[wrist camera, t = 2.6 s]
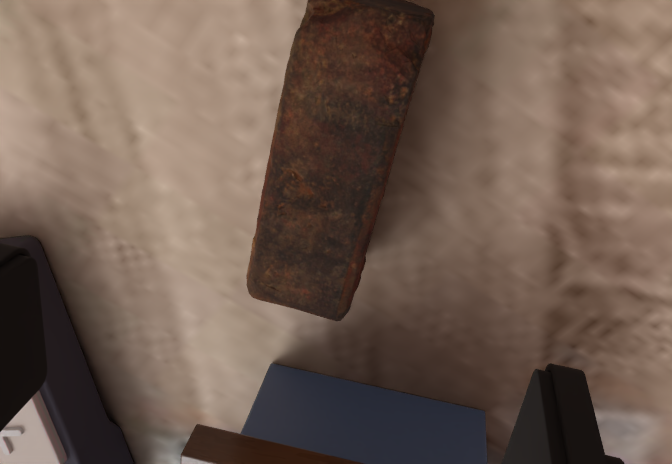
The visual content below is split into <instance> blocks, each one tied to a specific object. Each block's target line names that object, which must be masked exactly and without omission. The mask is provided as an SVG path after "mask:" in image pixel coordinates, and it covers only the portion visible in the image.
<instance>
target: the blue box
mask: <svg viewBox="0 0 672 464" xmlns="http://www.w3.org/2000/svg"><path fill="white" fill-rule="evenodd" d="M241 434H242V435H246V436H251V437H255V438H259V439H263V440H267V441H272V442H276V443H280V444H284V445H289V446H293V447H297V448H301V449H305V450H310V451H314V452H318V453H322V454H327V455H331V456H335V457H339V458H344V459H348V460H352V461H356V462H360V463H365V464H487V444H486V421H485V411H482V410H478V409H473V408H469V407H465V406H460V405H456V404H451V403H447V402H442V401H438V400H433V399H429V398H424V397H420V396H416V395H411V394H407V393H402V392H398V391H393V390H389V389H384V388H380V387H375V386H371V385H367V384H362V383H358V382H353V381H349V380H344V379H340V378H335V377H331V376H326V375H322V374H318V373H313V372H309V371H304V370H300V369H295V368H291V367H286V366H282V365H277V364H273V363H271V364H270V366H269V369H268V371H267V373H266V376H265V378H264V380H263V383H262V385H261V387H260V390H259V392H258V394H257V397H256V399H255V401H254V404H253V406H252V408H251V411H250V413H249V415H248V418H247V420H246V422H245V425H244V427H243V429H242V432H241Z"/></svg>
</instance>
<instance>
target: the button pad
mask: <svg viewBox="0 0 672 464" xmlns="http://www.w3.org/2000/svg"><path fill="white" fill-rule="evenodd" d="M0 243H4V244H8V245H13V246H17V247H22V248H25V249H27V250H28V251H29V253H30V255H31V257H32V258H34V259H35V260H36V262H37V266H38V275H39V286H40V296H41V306H42V316H43V327H44V337H45V347H46V357H47V376H46V379H45V382H44V384H43V385H42V387H41V388H40V389H39V390H38V392H37V393H36V394H35V395H34V396H33V397H32V398H31V399H30V400H29V401H28V402H27V403H26V405H25V406H24V407H23V408H22V409H21V410H20V411H19V412H18V413H17V414H16V415H15V417H14V418H13V419H12V420H11V421H10V422H9V423H8V424H7V425H6V426H5V427H4V429H3V430H2V431H1V432H0V464H134V463H133V461H132V458H131V455H130V453H129V450H128V447H127V445H126V442H125V440H124V437H123V434H122V432H121V429H120V427H119V426H117V425H115V424H114V423H112V422H111V421H109V420H108V418H107V415H106V413H105V410H104V407H103V405H102V402H101V400H100V397H99V394H98V392H97V389H96V387H95V384H94V382H93V379H92V376H91V374H90V371H89V369H88V366H87V363H86V361H85V358H84V356H83V353H82V350H81V348H80V345H79V343H78V340H77V337H76V335H75V332H74V330H73V327H72V324H71V322H70V319H69V317H68V314H67V312H66V309H65V306H64V304H63V301H62V299H61V296H60V293H59V291H58V288H57V286H56V283H55V280H54V278H53V275H52V273H51V270H50V267H49V265H48V262H47V260H46V257H45V254H44V252H43V249H42V247H41V244H40V242H39V241H38V240H37V239H36V238H35V237H33V236H20V237H11V238H2V239H0Z"/></svg>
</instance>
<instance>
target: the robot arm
mask: <svg viewBox="0 0 672 464" xmlns="http://www.w3.org/2000/svg"><path fill="white" fill-rule="evenodd" d="M46 376H47V357H46V347H45V337H44V327H43V316H42V306H41V296H40V286H39V275H38V266H37V262H36V260H35V259H34V258H32V257H31V255H30V253H29V251H28V250H27V249H25V248H22V247H17V246H13V245H8V244H4V243H0V432H1V431H2V430H3V429H4V427H5V426H6V425H7V424H8V423H9V422H10V421H11V420H12V419H13V418H14V417H15V415H16V414H17V413H18V412H19V411H20V410H21V409H22V408H23V407H24V406H25V405H26V403H27V402H28V401H29V400H30V399H31V398H32V397H33V396H34V395H35V394H36V393H37V392H38V390H39V389H40V388H41V387H42V385H43V384H44V382H45V379H46ZM502 464H624V462H623V461H622V460H621V459H620V458H616V457H612V456H608V455H605V453H604V449H603V445H602V441H601V437H600V433H599V429H598V425H597V421H596V417H595V413H594V409H593V405H592V401H591V397H590V393H589V389H588V385H587V381H586V377H585V374H584V372H583V371H582V370H578V369H574V368H569V367H564V366H560V365H555V364H551V363H550V364H548V365H547V367H546V369H545V371H544V370H539V369H535V371H534V372H533V375H532V377H531V380H530V383H529V386H528V389H527V392H526V395H525V398H524V400H523V403H522V406H521V409H520V412H519V415H518V418H517V421H516V424H515V426H514V429H513V432H512V435H511V438H510V441H509V444H508V447H507V450H506V453H505V455H504V458H503V461H502Z"/></svg>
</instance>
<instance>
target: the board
mask: <svg viewBox="0 0 672 464" xmlns="http://www.w3.org/2000/svg"><path fill="white" fill-rule="evenodd" d="M181 464H365V463H360V462H356V461H352V460H348V459H344V458H339V457H335V456H331V455H327V454H322V453H318V452H314V451H310V450H305V449H301V448H297V447H293V446H289V445H284V444H280V443H276V442H272V441H267V440H263V439H259V438H255V437H251V436H246V435H242V434H238V433H234V432H229V431H225V430H221V429H217V428H212V427H208V426H204V425H200V424H197V425H196V427H195V429H194V431H193V433H192V434H191V436H190V438H189V440H188V442H187V444H186V446H185V448H184V450H183V452H182V454H181Z"/></svg>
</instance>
